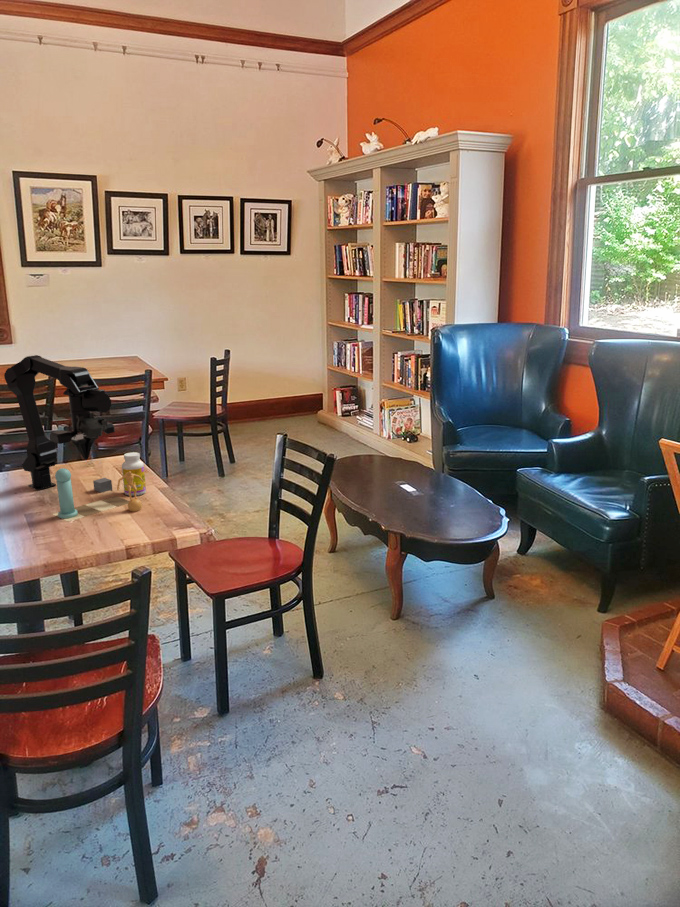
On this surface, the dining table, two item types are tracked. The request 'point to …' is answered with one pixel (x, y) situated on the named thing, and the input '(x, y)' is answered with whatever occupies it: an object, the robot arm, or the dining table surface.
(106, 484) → the plain grey cube
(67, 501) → the pawn
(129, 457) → the supplement bottle
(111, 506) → the board
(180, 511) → the dining table surface
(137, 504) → the figurine
